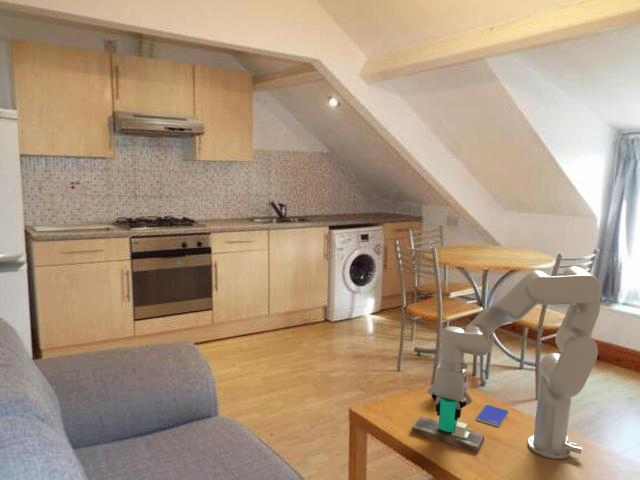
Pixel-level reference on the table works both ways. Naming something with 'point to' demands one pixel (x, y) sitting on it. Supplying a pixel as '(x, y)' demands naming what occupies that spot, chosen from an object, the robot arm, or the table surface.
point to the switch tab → (461, 430)
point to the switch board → (447, 435)
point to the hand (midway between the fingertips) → (447, 415)
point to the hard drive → (492, 415)
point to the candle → (447, 415)
